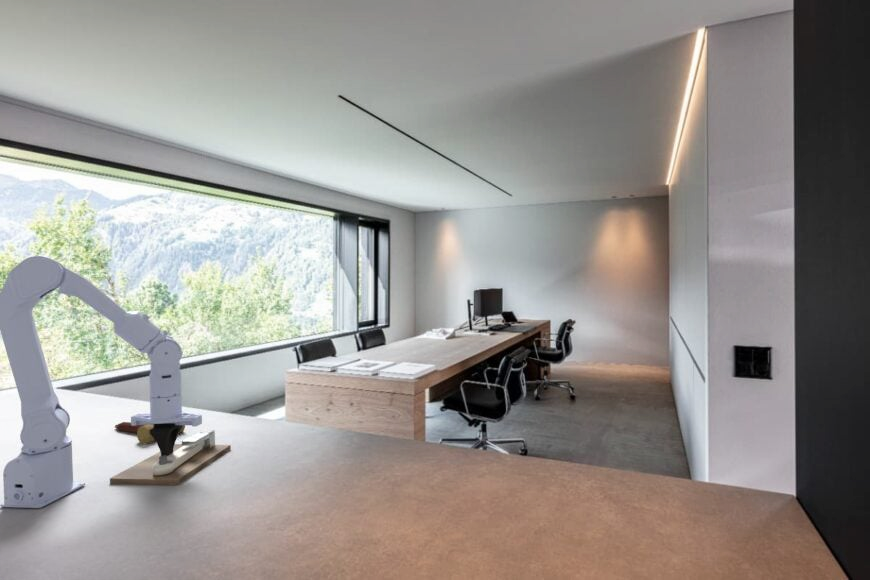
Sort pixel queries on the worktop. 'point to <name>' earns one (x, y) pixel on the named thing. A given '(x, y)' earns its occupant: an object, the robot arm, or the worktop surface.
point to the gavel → (139, 431)
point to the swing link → (175, 459)
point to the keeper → (201, 439)
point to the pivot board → (144, 472)
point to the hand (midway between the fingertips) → (167, 459)
